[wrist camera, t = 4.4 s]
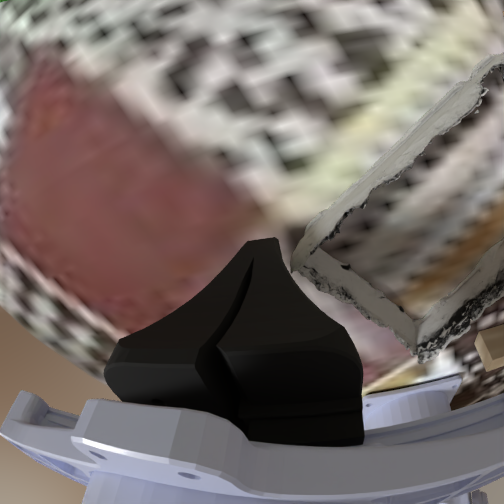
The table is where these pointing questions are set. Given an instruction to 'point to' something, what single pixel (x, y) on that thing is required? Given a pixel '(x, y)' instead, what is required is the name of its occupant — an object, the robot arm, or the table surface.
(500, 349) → the frame
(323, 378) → the robot arm
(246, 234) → the table surface
